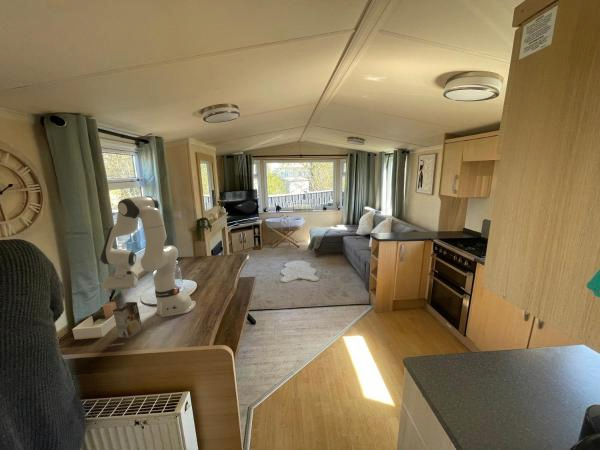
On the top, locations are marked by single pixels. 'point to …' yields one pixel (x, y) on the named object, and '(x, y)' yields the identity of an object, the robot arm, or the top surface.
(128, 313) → the coffee box
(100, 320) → the panel
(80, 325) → the tray
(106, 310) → the terracotta block
